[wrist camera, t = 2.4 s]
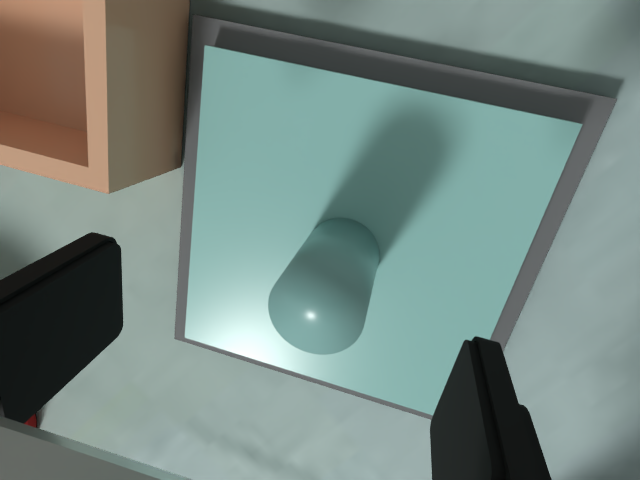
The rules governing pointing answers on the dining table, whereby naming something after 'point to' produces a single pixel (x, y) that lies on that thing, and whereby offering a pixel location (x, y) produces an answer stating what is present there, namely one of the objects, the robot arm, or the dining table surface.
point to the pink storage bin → (93, 89)
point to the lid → (359, 221)
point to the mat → (408, 74)
